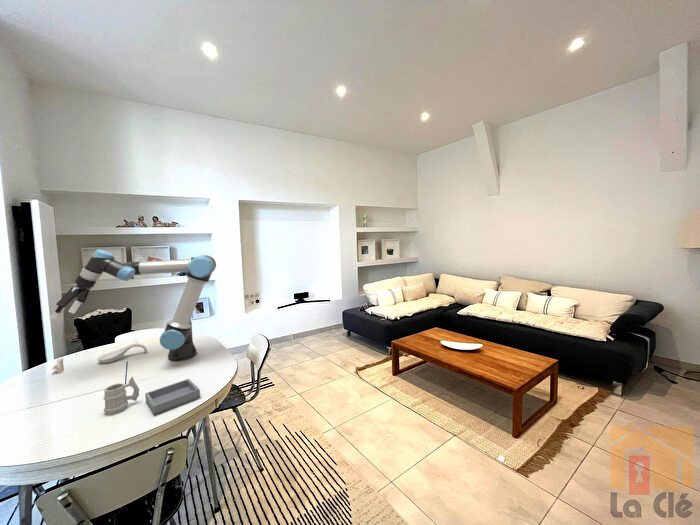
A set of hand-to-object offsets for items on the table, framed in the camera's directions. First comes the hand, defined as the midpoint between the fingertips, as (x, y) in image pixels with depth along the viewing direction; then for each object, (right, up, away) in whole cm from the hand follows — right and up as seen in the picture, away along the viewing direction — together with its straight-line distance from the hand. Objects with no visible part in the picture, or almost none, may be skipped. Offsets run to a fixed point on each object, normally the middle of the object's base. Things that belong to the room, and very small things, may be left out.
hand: (63, 315), depth 140 cm
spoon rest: (+5, -33, +32) cm, 46 cm away
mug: (+48, -35, -23) cm, 64 cm away
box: (+67, -34, -18) cm, 77 cm away
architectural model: (-16, -35, +14) cm, 41 cm away
